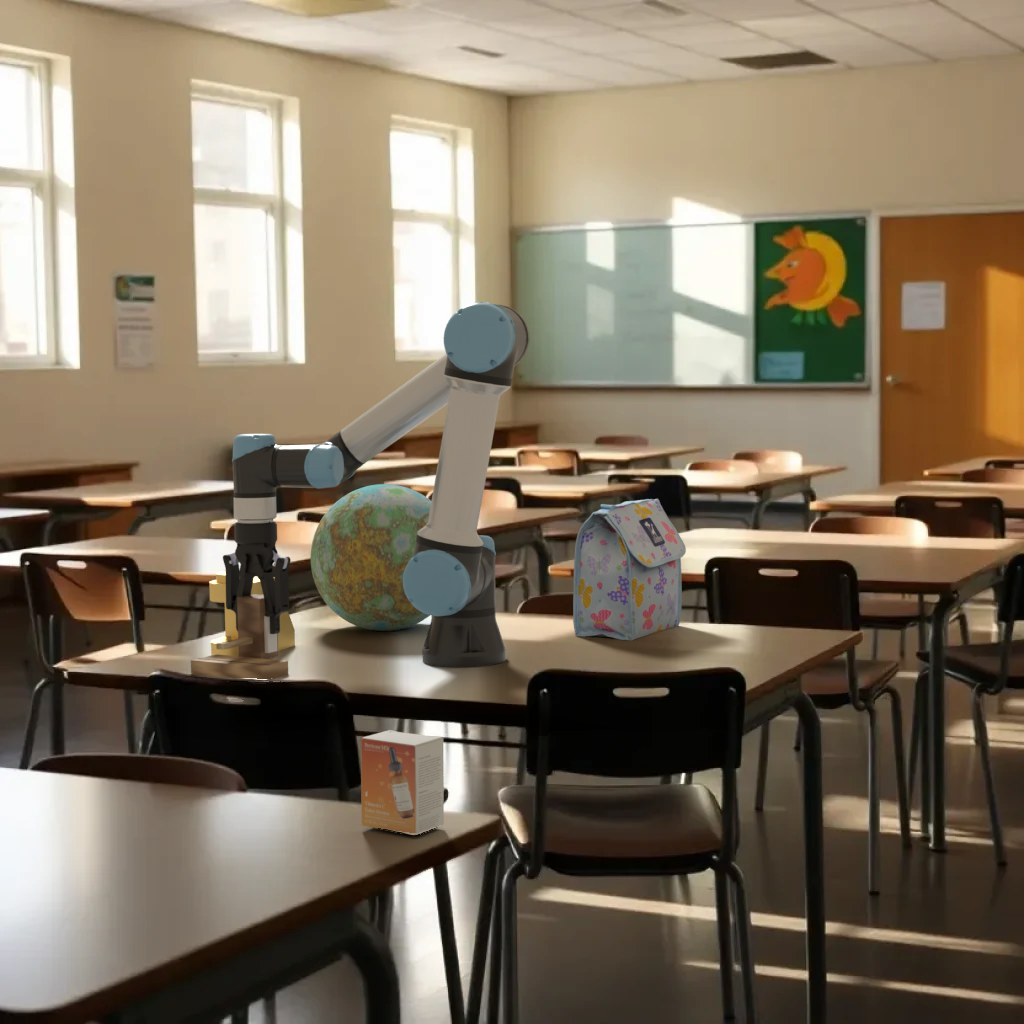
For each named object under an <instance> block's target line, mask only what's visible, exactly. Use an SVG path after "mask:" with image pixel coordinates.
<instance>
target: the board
mask: <svg viewBox="0 0 1024 1024" xmlns="http://www.w3.org/2000/svg"><path fill="white" fill-rule="evenodd" d="M191 673H192V674H191ZM190 674H191V675H197V674H198V675H197V676H208V677H210V676H211V677H217V678H228V679H237V678H257V679H270V680H272V679H271V678H273V679H276V678H281V677H284V676H288V675H289V660H284V659H282V660H281V659H273V658H271V659H261V658H250V657H239V656H228V655H212V656H211V655H208V656H203V657H198V658H195V659H190Z"/></svg>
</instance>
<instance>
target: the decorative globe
mask: <svg viewBox="0 0 1024 1024" xmlns="http://www.w3.org/2000/svg"><path fill="white" fill-rule="evenodd" d="M431 501H432V499H429V498H428V497H427V496H425V495H424V494H422V493H421V492H418V491H416V490H415V489H412V488H409V487H406V486H401V485H397V484H390V483H389V484H388V483H383V484H382V483H380V484H379V483H378V484H372V485H367V486H364V487H363V486H362V487H360V488H358V489H355V490H353V491H351V492H349V493H347V494H346V495H344V496H342V497H341V498H339V500H337V501H336V502H335V503H333V504H332V505H331V506H330V508H329V509H327V511H326V512H325V513H324V515H323V516H322V518H321V520H320V521H319V523H318V525H317V527H316V530H315V531H314V535H313V538H312V542H311V543H312V544H311V549H310V569H311V573H312V578H313V581H314V584H315V588H316V589H317V591H318V593H319V594H320V596H321V598H322V599H323V601H324V602H325V604H326V605H327V606H328V607H329V608H330V609H331V610H332V611H333V613H335V614H336V615H337V616H339V617H340V618H341V619H342V620H343V621H346V622H347V623H349V624H352V625H354V626H355V627H358V628H361V629H364V630H369V631H373V630H374V631H373V632H375V631H376V632H393V630H395V631H400V629H401V630H404V629H407V628H410V627H413V626H415V625H417V624H419V623H422V621H424V620H426V619H427V618H428V617H430V616H431V615H427V614H425V613H423V612H421V611H419V610H418V609H416V608H415V607H414V606H413V605H412V604H411V603H410V601H409V600H408V598H407V596H406V594H405V592H404V588H403V574H404V570H405V568H406V565H407V564H408V562H409V560H410V559H411V558H412V557H413V554H414V548H415V543H416V538H417V532H418V531H419V530H420V529H422V528H423V527H424V526H426V525H427V523H428V519H429V513H430V507H431Z"/></svg>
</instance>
